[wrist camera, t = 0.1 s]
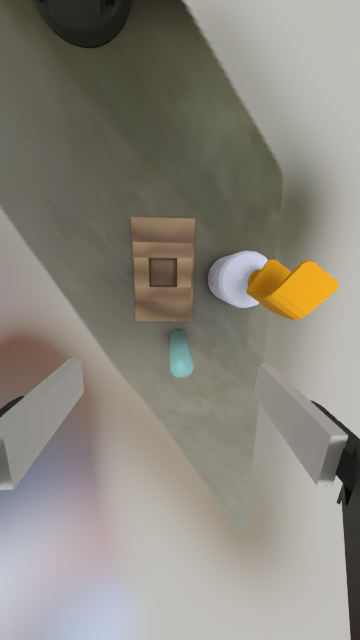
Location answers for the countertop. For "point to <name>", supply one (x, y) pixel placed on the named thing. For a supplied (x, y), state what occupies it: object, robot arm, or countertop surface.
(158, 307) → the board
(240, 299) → the soap bottle
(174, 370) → the peg
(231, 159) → the countertop surface
